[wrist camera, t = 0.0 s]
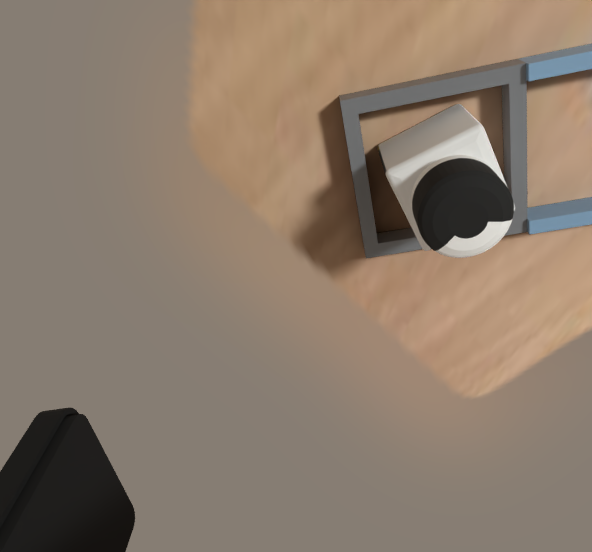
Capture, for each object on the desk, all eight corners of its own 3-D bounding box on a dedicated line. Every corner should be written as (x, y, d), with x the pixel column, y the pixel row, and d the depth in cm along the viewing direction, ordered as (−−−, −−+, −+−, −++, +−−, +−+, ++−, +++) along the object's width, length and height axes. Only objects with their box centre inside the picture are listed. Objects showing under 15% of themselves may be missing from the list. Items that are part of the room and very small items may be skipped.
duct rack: (339, 95, 43) (340, 102, 40) (694, 22, 39) (716, 25, 37) (364, 248, 49) (366, 261, 47) (672, 196, 45) (690, 208, 43)
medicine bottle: (375, 144, 44) (392, 198, 34) (459, 100, 42) (504, 144, 32) (411, 216, 47) (436, 287, 37) (491, 178, 45) (541, 241, 35)
